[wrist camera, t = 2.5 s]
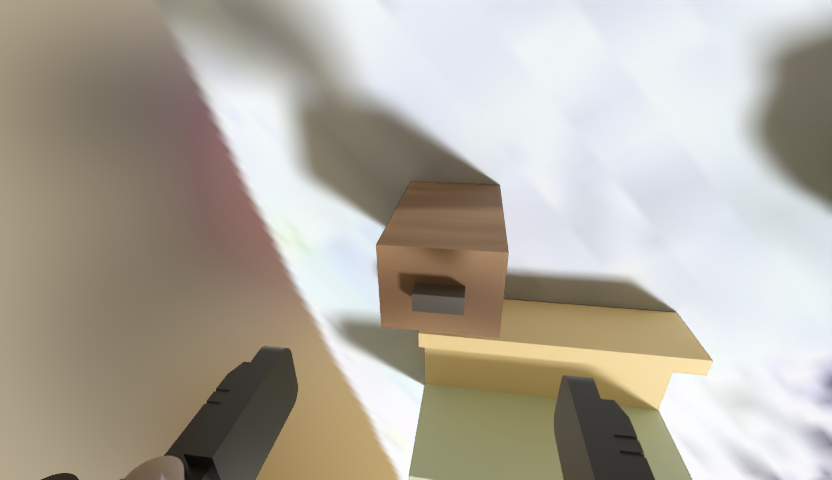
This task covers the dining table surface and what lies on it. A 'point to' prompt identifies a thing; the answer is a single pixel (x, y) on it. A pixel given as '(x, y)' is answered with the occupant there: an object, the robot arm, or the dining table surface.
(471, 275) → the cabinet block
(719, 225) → the dining table surface
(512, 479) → the beige piece
